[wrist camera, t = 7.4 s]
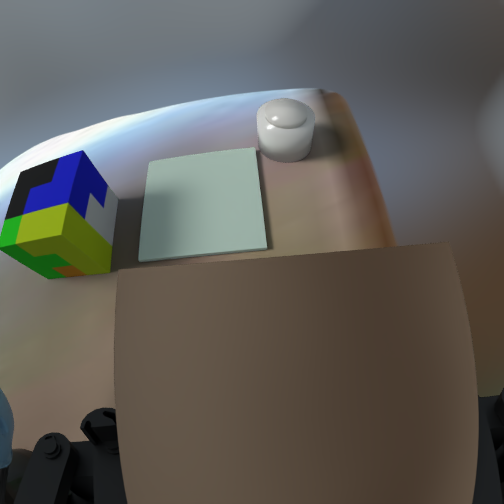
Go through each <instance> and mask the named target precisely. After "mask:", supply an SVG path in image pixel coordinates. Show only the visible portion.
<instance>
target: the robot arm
mask: <svg viewBox="0 0 504 504" xmlns="http://www.w3.org/2000/svg"><path fill="white" fill-rule="evenodd" d="M478 412H479V435H478V457H477V470H476V479H475V487H474V494H473V501H472V504H504V388H503V390H502V392H501V394H500V395H498V396H490V397H479V395H478ZM80 429H81V430H82V431H83V433H84V434H85V435H86V437H87V438H88V439H89V440H90V441H82V442H70V441H69V440H68V439H67V438H66V437H65V436H64V435H62V434H60V433H49V434H46V435H44V436H43V437H41V438H40V439H39V441H38V442H37V444H36V445H35V448H34V450H33V453H32V452H30V451H28V450H25V449H12V438H13V431H14V418H13V413H12V410H11V407H10V405H9V402H8V400H7V398H6V396H5V395H4V393H3V391H2V390H1V389H0V504H128V503H127V498H126V493H125V487H124V481H123V475H122V468H121V461H120V453H119V444H118V434H117V422H116V410H115V409H113V408H100V409H96V410H94V411H92V412H91V413H89V414H87V416H86V417H85V418H84V419H83V420H82V423H81V426H80Z"/></svg>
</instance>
